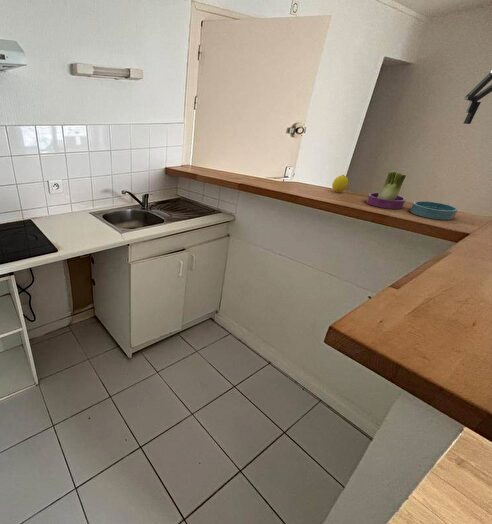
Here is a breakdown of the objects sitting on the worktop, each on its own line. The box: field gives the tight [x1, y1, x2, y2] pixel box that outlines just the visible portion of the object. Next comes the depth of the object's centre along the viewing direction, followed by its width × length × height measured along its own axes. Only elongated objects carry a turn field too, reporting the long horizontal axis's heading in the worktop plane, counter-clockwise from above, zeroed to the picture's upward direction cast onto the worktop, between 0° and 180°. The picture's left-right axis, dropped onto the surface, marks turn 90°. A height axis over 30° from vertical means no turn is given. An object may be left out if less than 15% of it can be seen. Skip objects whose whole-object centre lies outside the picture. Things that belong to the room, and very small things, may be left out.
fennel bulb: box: [377, 171, 407, 200], centre depth 105 cm, size 6×5×12 cm
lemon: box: [331, 174, 349, 194], centre depth 122 cm, size 6×6×8 cm
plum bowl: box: [365, 192, 407, 210], centre depth 108 cm, size 11×11×4 cm
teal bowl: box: [409, 200, 459, 221], centre depth 98 cm, size 11×11×4 cm
